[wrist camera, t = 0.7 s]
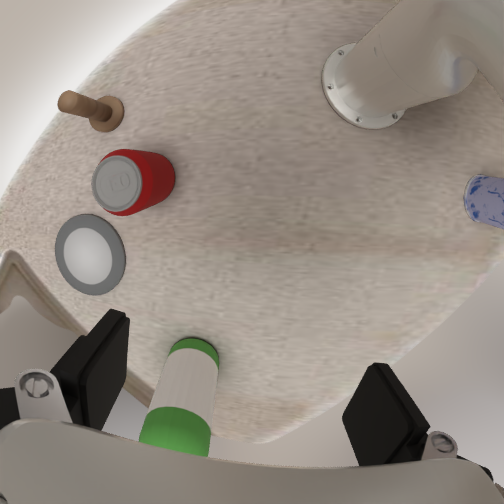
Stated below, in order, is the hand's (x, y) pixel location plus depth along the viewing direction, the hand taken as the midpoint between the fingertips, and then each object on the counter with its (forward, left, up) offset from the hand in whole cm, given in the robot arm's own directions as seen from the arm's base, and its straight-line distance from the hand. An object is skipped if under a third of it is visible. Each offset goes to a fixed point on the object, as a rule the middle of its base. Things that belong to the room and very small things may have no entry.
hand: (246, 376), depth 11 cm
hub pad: (+11, -20, -30) cm, 38 cm away
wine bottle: (+22, -1, -30) cm, 37 cm away
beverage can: (-2, -14, -30) cm, 33 cm away
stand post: (-9, -23, -30) cm, 39 cm away
